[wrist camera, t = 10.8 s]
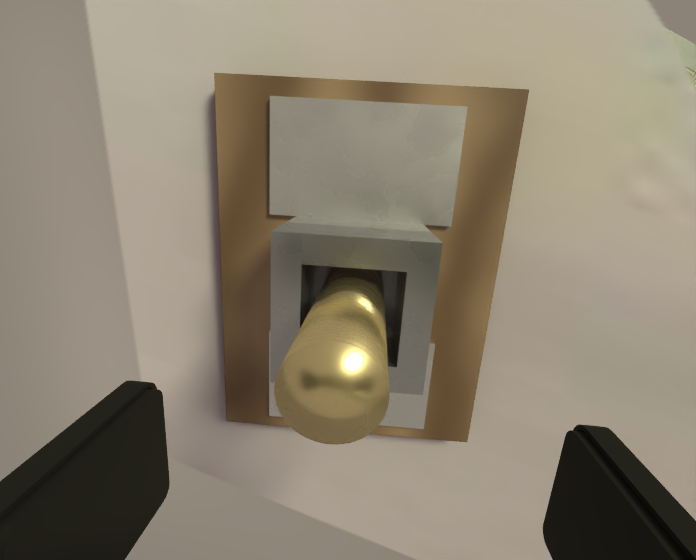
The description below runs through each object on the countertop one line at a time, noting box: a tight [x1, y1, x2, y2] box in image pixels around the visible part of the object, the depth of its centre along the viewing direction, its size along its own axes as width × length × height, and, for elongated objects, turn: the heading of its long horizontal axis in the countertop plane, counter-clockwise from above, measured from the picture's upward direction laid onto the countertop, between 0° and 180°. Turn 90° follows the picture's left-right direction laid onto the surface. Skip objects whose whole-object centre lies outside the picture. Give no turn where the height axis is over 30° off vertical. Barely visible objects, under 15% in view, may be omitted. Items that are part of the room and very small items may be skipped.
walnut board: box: [214, 73, 529, 442], centre depth 23 cm, size 16×21×2 cm
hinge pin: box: [274, 267, 389, 444], centre depth 15 cm, size 3×3×10 cm
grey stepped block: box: [269, 96, 468, 429], centre depth 19 cm, size 10×19×6 cm, turn 177°
